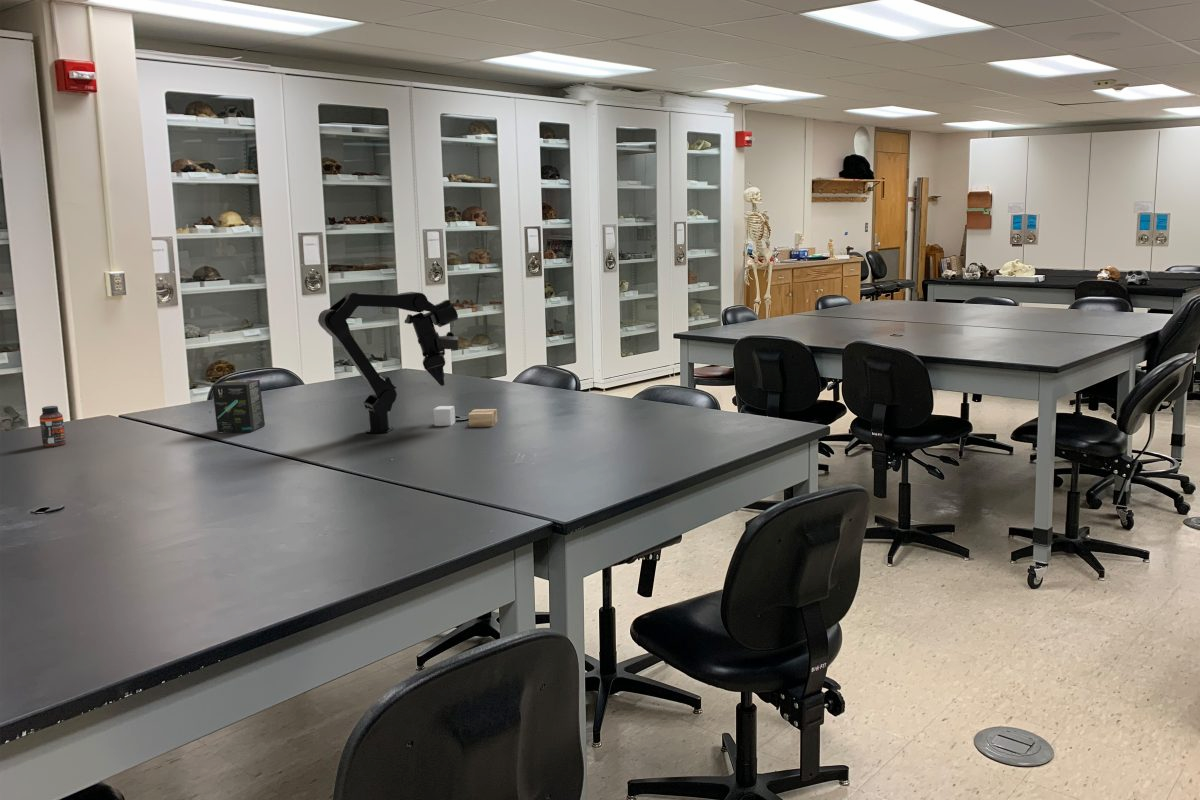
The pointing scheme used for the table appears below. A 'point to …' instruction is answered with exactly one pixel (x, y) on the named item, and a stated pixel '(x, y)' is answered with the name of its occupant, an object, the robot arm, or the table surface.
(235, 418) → the tampon box
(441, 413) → the white cube
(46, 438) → the supplement bottle
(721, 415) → the table surface
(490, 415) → the oak block
